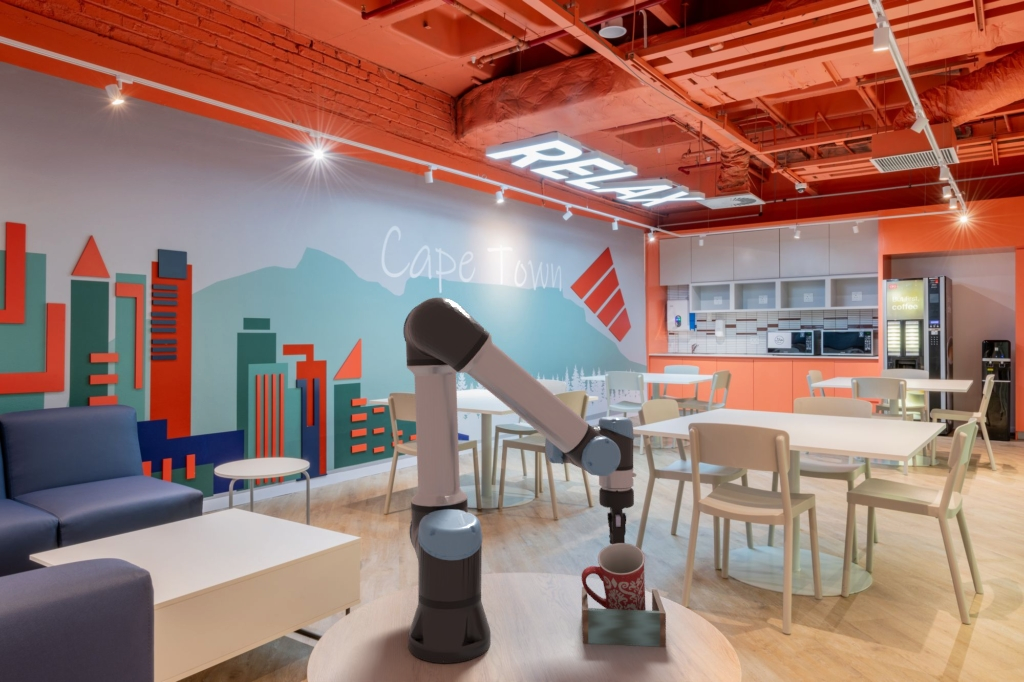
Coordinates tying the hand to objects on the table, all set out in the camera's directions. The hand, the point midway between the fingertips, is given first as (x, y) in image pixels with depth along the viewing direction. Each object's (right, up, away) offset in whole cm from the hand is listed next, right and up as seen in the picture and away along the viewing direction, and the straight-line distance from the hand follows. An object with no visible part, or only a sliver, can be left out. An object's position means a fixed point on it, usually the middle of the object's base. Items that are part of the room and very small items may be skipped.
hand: (617, 584), depth 141 cm
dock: (-2, -2, -18) cm, 18 cm away
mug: (-2, -1, -12) cm, 13 cm away
